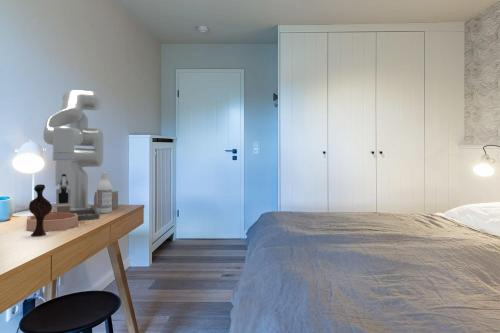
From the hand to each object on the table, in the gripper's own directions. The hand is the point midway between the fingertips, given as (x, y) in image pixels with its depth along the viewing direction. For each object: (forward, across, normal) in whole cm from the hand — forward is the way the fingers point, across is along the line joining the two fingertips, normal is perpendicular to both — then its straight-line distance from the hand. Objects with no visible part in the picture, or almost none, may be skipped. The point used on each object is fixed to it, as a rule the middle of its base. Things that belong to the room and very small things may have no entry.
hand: (63, 201), depth 131 cm
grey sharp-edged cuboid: (+1, 0, 0) cm, 1 cm away
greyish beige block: (+9, -15, +1) cm, 18 cm away
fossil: (+9, -32, +21) cm, 39 cm away
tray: (+9, -15, +5) cm, 19 cm away
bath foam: (+9, -24, +19) cm, 32 cm away
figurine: (+10, +14, -7) cm, 18 cm away
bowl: (+10, +1, -3) cm, 10 cm away
